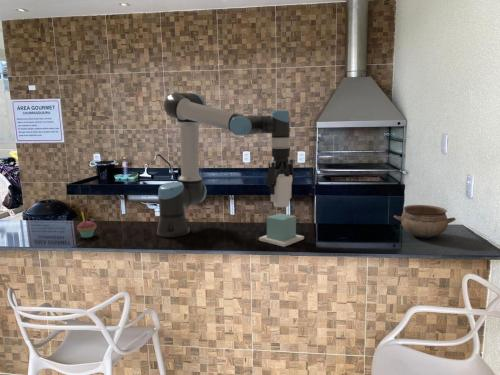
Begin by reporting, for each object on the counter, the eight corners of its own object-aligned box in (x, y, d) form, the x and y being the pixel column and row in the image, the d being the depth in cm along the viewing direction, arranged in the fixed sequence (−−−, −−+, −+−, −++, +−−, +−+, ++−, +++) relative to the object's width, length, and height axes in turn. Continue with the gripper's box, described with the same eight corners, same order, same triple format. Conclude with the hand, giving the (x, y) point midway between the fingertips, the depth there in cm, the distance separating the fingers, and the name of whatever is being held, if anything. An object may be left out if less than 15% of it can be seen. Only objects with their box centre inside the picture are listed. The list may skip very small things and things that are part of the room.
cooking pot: (394, 241, 171) (396, 213, 169) (391, 229, 189) (392, 203, 187) (459, 244, 165) (461, 215, 163) (449, 231, 183) (451, 205, 181)
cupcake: (73, 238, 186) (71, 212, 183) (86, 233, 193) (83, 208, 191) (89, 239, 183) (86, 213, 181) (101, 234, 191) (99, 209, 189)
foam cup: (266, 205, 175) (265, 175, 173) (281, 202, 181) (281, 173, 178) (281, 209, 168) (281, 178, 165) (296, 205, 173) (296, 175, 171)
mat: (258, 240, 177) (258, 237, 176) (279, 233, 187) (279, 230, 186) (284, 246, 167) (284, 243, 167) (303, 238, 177) (303, 236, 177)
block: (266, 237, 176) (266, 217, 175) (279, 232, 183) (279, 213, 181) (283, 241, 170) (282, 220, 169) (295, 236, 177) (295, 216, 175)
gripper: (289, 145, 180) (290, 194, 184) (256, 149, 164) (257, 203, 168) (303, 146, 175) (303, 196, 179) (270, 150, 159) (271, 205, 163)
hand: (281, 199), depth 174 cm, fingers closed on foam cup, 9 cm apart
